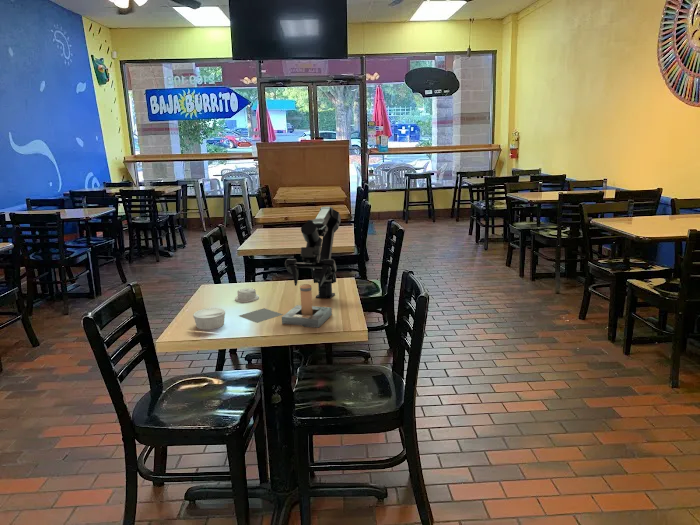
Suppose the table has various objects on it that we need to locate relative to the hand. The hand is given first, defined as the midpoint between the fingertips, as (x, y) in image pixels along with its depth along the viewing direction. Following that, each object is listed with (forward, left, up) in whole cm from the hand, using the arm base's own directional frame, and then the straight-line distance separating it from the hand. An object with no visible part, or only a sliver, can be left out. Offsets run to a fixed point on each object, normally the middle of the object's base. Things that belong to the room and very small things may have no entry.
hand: (307, 285), depth 195 cm
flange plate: (+3, 0, -12) cm, 13 cm away
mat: (+3, -19, -12) cm, 22 cm away
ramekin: (+17, -32, -13) cm, 38 cm away
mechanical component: (-16, -34, -13) cm, 40 cm away
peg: (+3, 0, -12) cm, 13 cm away
